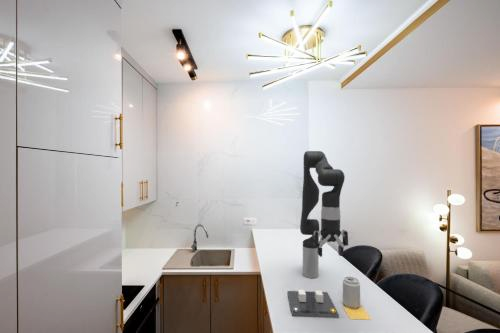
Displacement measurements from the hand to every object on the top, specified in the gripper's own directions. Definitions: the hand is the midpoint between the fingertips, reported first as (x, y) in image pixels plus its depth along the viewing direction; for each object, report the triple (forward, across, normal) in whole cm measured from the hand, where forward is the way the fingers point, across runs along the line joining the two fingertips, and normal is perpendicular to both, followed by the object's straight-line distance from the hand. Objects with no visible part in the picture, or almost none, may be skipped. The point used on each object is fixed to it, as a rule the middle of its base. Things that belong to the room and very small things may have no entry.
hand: (330, 255), depth 99 cm
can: (+28, -15, -11) cm, 33 cm away
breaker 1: (+26, +8, -14) cm, 30 cm away
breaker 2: (+26, 0, -13) cm, 29 cm away
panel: (+28, +4, -12) cm, 31 cm away
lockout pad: (+28, -14, -5) cm, 32 cm away
